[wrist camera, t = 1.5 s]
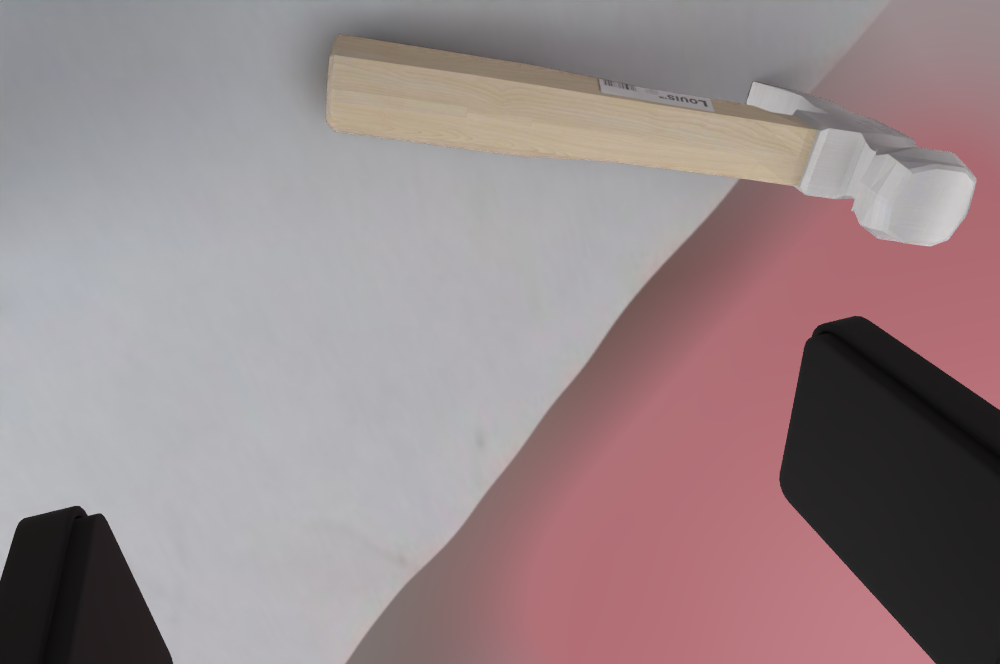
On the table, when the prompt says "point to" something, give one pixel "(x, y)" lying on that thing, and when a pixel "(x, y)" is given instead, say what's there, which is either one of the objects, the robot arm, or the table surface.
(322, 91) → the table surface
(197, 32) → the table surface
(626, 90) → the hammer
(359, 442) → the table surface
